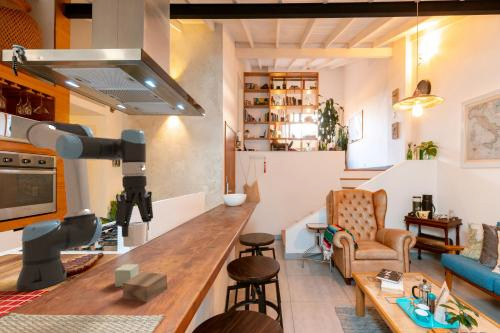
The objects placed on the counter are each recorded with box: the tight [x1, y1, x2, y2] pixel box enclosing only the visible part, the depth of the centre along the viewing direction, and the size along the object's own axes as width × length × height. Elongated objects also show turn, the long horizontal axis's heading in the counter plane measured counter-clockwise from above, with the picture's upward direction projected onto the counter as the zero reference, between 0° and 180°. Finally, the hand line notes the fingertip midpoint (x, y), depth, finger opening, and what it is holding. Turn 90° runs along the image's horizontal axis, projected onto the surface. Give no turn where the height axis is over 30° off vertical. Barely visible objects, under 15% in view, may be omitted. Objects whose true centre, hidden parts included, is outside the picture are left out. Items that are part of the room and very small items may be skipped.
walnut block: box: [122, 271, 168, 303], centre depth 90 cm, size 10×10×5 cm
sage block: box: [114, 263, 140, 287], centre depth 99 cm, size 6×6×6 cm
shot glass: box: [129, 221, 147, 248], centre depth 89 cm, size 7×7×7 cm
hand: (136, 243), depth 89 cm, fingers closed on shot glass, 7 cm apart
